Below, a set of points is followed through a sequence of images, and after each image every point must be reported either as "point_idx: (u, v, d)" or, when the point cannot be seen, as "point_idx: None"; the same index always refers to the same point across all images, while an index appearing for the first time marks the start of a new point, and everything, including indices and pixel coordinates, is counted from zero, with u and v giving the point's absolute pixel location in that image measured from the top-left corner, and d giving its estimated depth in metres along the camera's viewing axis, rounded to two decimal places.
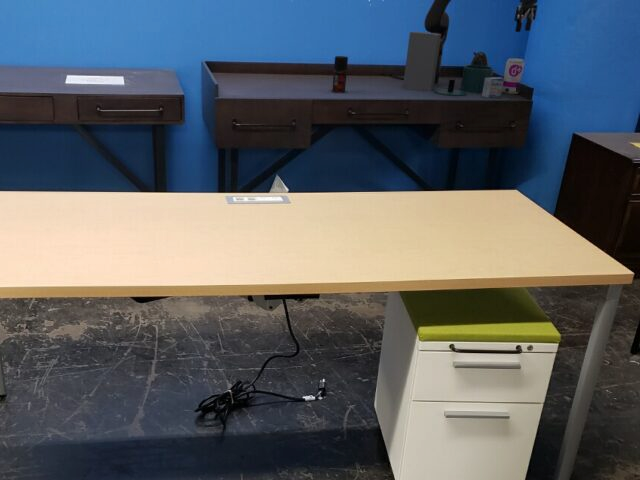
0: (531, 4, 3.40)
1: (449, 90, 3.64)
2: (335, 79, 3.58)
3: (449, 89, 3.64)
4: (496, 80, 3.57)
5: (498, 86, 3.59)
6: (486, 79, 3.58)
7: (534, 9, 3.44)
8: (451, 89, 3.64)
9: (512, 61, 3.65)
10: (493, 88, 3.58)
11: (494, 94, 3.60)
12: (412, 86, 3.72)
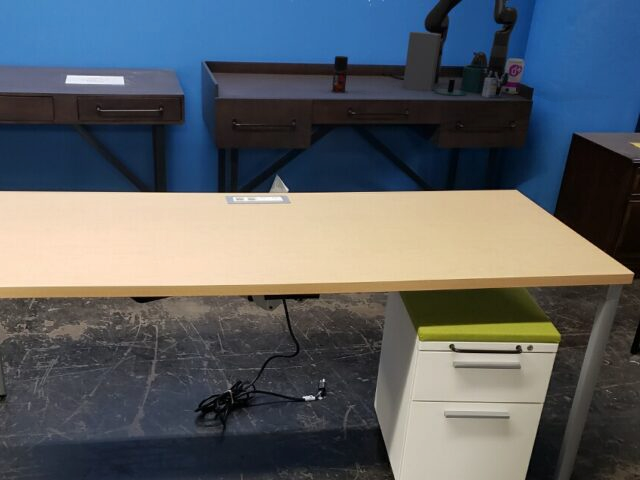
0: (497, 68, 3.55)
1: (449, 90, 3.64)
2: (335, 79, 3.58)
3: (449, 89, 3.64)
4: None
5: None
6: (486, 79, 3.58)
7: None
8: (451, 89, 3.64)
9: (512, 61, 3.65)
10: (493, 88, 3.58)
11: (494, 94, 3.60)
12: (412, 86, 3.72)
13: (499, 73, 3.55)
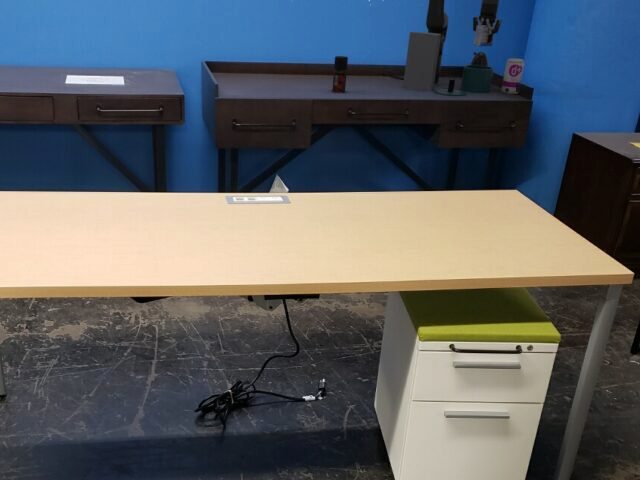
0: (489, 15, 3.56)
1: (449, 90, 3.64)
2: (335, 79, 3.58)
3: (449, 89, 3.64)
4: None
5: None
6: (478, 26, 3.59)
7: (495, 23, 3.55)
8: (451, 89, 3.64)
9: (512, 61, 3.65)
10: (485, 35, 3.59)
11: (486, 41, 3.61)
12: (412, 86, 3.72)
13: (491, 20, 3.56)
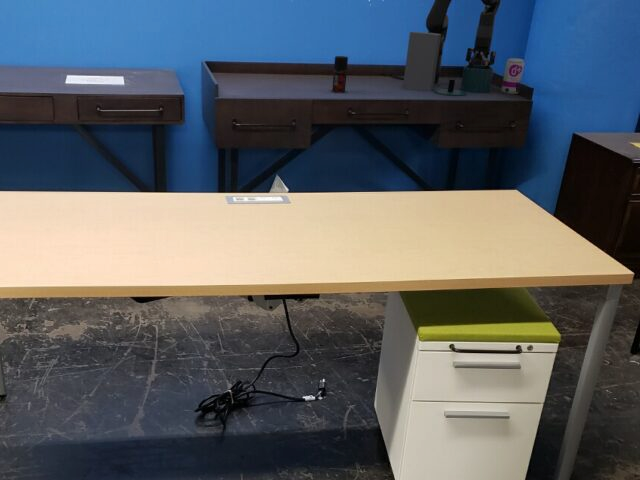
0: (483, 48, 3.64)
1: (449, 90, 3.64)
2: (335, 79, 3.58)
3: (449, 89, 3.64)
4: None
5: None
6: None
7: None
8: (451, 89, 3.64)
9: (512, 61, 3.65)
10: None
11: None
12: (412, 86, 3.72)
13: (485, 52, 3.64)
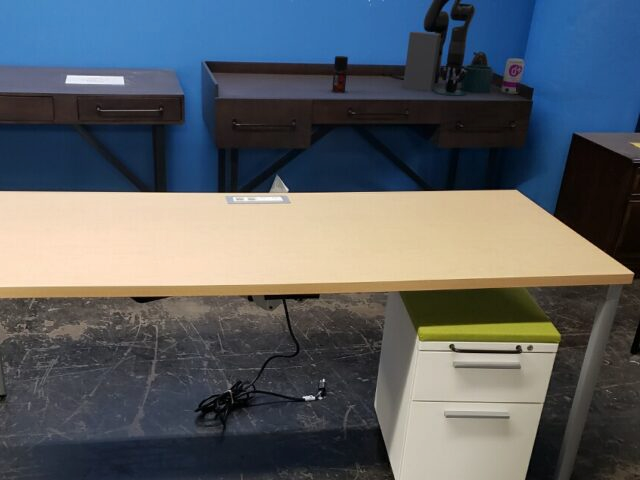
0: (455, 64, 3.58)
1: (449, 90, 3.64)
2: (335, 79, 3.58)
3: (449, 89, 3.64)
4: None
5: None
6: None
7: None
8: (451, 89, 3.64)
9: (512, 61, 3.65)
10: None
11: None
12: (412, 86, 3.72)
13: (457, 70, 3.58)
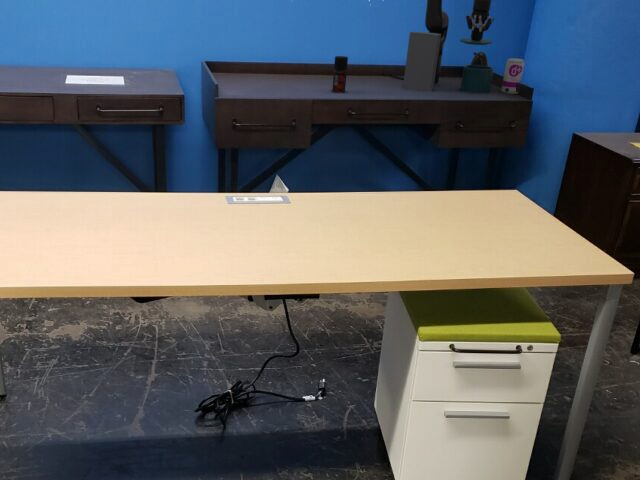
0: (481, 12, 3.53)
1: (475, 39, 3.59)
2: (335, 79, 3.58)
3: (475, 38, 3.59)
4: None
5: None
6: None
7: (487, 20, 3.53)
8: (477, 38, 3.59)
9: (512, 61, 3.65)
10: None
11: None
12: (412, 86, 3.72)
13: (483, 18, 3.53)
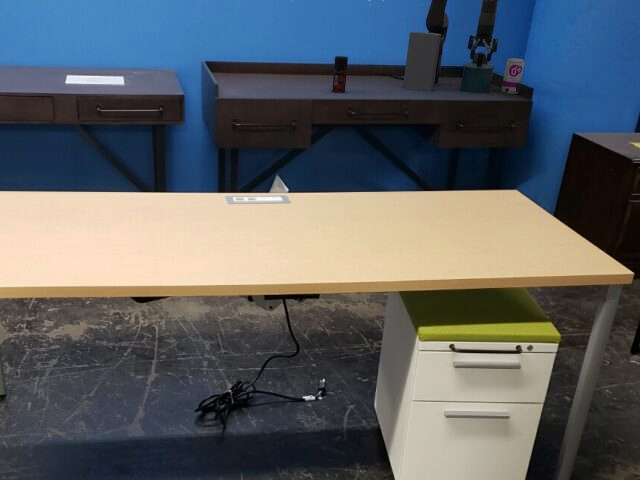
0: (485, 36, 3.61)
1: (478, 64, 3.68)
2: (335, 79, 3.58)
3: (478, 63, 3.68)
4: None
5: None
6: None
7: (492, 42, 3.60)
8: (480, 63, 3.67)
9: (512, 61, 3.65)
10: None
11: None
12: (412, 86, 3.72)
13: (487, 40, 3.61)
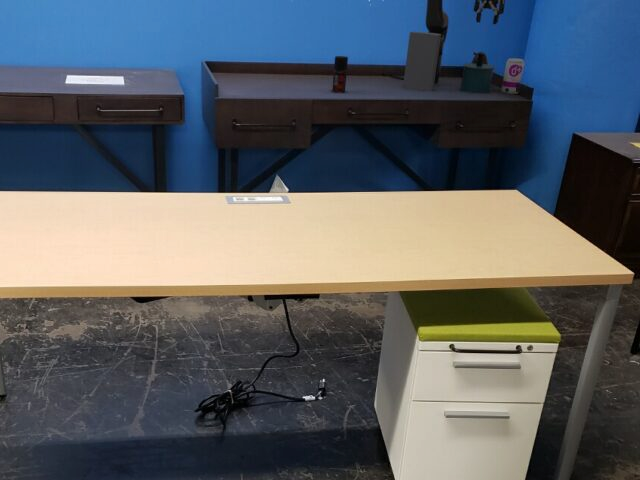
0: None
1: (478, 64, 3.68)
2: (335, 79, 3.58)
3: (478, 63, 3.68)
4: None
5: None
6: None
7: (499, 3, 3.51)
8: (480, 63, 3.67)
9: (512, 61, 3.65)
10: None
11: None
12: (412, 86, 3.72)
13: (494, 1, 3.53)
